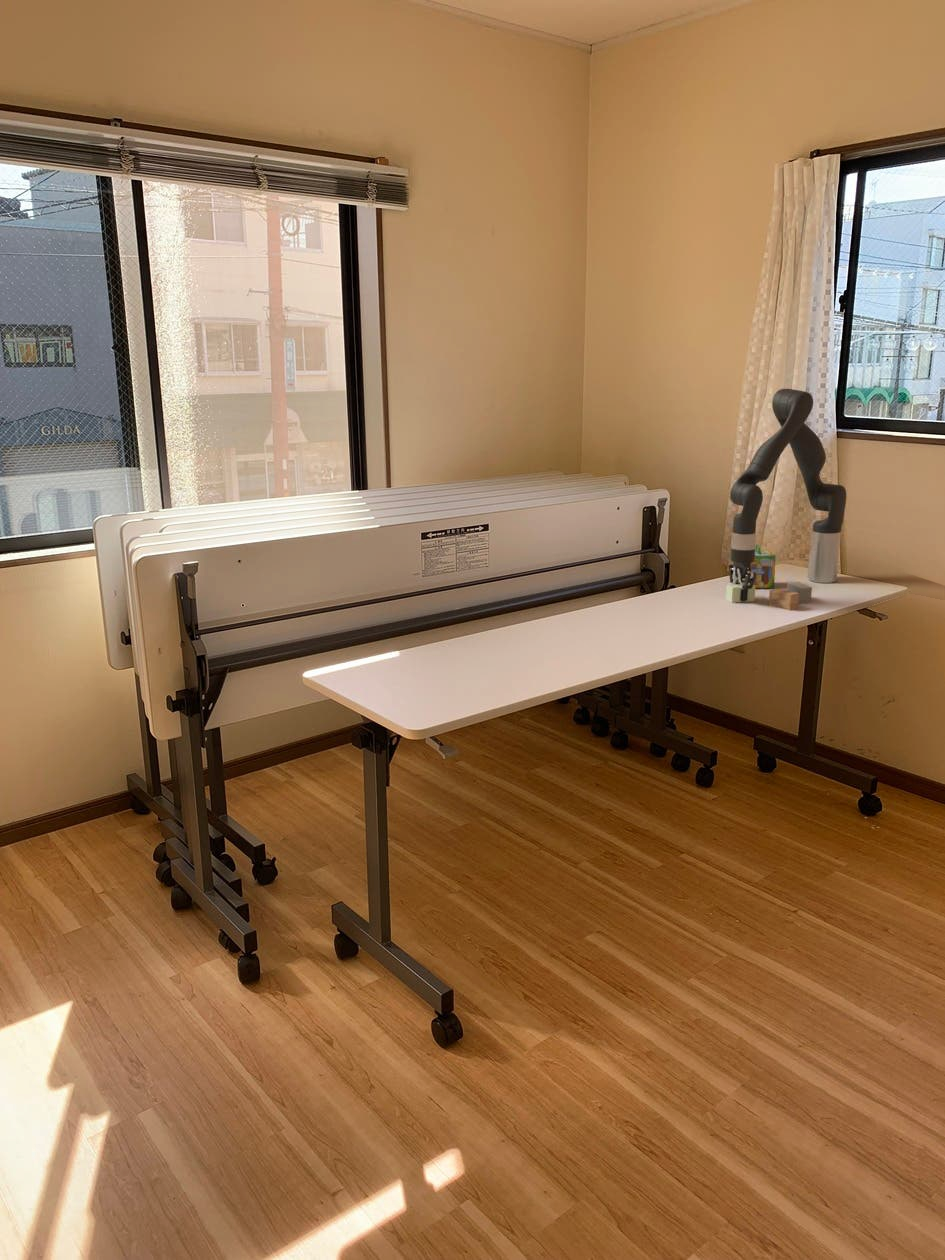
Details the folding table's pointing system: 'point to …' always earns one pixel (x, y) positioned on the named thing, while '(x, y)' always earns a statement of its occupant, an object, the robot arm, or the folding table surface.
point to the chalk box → (763, 568)
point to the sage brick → (738, 593)
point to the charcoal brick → (801, 591)
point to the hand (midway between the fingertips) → (740, 598)
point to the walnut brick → (783, 599)
